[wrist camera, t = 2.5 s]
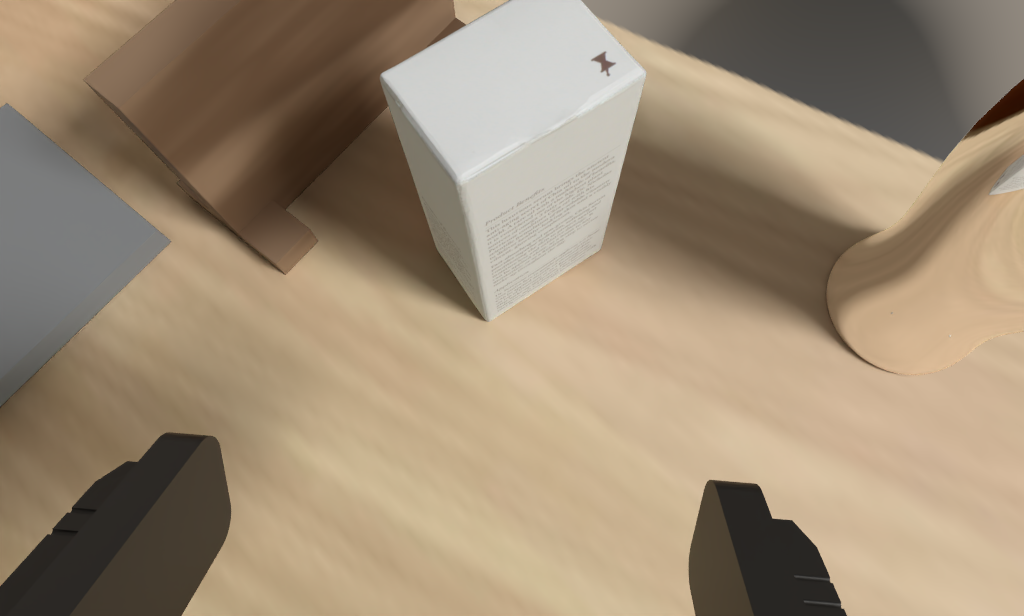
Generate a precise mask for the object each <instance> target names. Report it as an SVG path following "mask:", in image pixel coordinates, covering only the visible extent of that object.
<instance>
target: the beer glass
mask: <svg viewBox="0 0 1024 616" xmlns="http://www.w3.org/2000/svg"><path fill="white" fill-rule="evenodd" d="M826 296H827V306H828V310H829V314H830V317H831V320H832V322H833V324H834V326H835V328H836V330H837V332H838V333H839V335H840V336H841V338H842V339H843V340H844V342H845V343H846V344H847V345H848V346H849V347H850V348H851V349H852V350H853V351H854V352H855V353H856V354H857V355H859V356H860V357H861V358H863V359H864V360H866V361H867V362H869V363H871V364H872V365H874V366H876V367H879V368H881V369H883V370H886V371H889V372H893V373H897V374H903V375H923V374H930V373H934V372H938V371H941V370H943V369H946V368H948V367H950V366H952V365H954V364H955V363H957V362H958V361H960V360H961V359H963V358H964V357H965V356H967V355H968V354H969V353H970V352H972V351H973V350H974V349H976V348H977V347H978V346H979V345H981V344H982V343H984V342H986V341H988V340H990V339H992V338H995V337H999V336H1002V335H1007V334H1013V333H1019V332H1024V79H1023V80H1021V81H1020V82H1019V83H1018V84H1017V85H1015V86H1014V87H1013V88H1012V89H1011V90H1010V91H1009V92H1008V93H1006V94H1005V95H1004V97H1002V98H1001V99H1000V100H999V101H998V102H997V103H996V104H995V105H994V106H993V107H992V108H991V109H990V110H989V111H988V112H987V113H986V114H985V115H983V116H982V117H981V118H980V119H979V120H978V121H977V123H976V124H975V125H974V126H973V127H972V128H971V129H970V131H969V132H968V133H967V134H966V135H965V136H964V138H963V139H962V140H961V141H960V142H959V143H958V145H957V146H956V147H955V148H954V149H953V151H952V152H951V153H950V154H949V155H948V157H947V158H946V159H945V161H944V162H943V163H942V165H941V166H940V167H939V169H938V170H937V171H936V173H935V174H934V176H933V177H932V178H931V180H930V181H929V182H928V184H927V185H926V187H925V188H924V189H923V191H922V192H921V194H920V195H919V196H918V198H917V199H916V201H915V202H914V203H913V205H912V206H911V207H910V208H909V210H908V211H907V212H906V213H905V215H904V216H903V217H902V218H901V219H900V220H899V221H898V222H897V223H895V224H894V225H892V226H891V227H889V228H887V229H885V230H883V231H881V232H878V233H876V234H874V235H871V236H869V237H867V238H865V239H863V240H861V241H859V242H857V243H856V244H854V245H853V246H851V247H850V248H849V249H847V250H846V251H845V252H844V253H843V254H842V255H841V256H840V257H839V259H838V260H837V262H836V263H835V265H834V267H833V269H832V271H831V273H830V276H829V279H828V283H827V292H826Z"/></svg>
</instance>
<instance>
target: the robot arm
mask: <svg viewBox="0 0 1024 616" xmlns="http://www.w3.org/2000/svg"><path fill="white" fill-rule="evenodd" d="M230 520H231V504H230V498H229V493H228V487H227V482H226V476H225V471H224V465H223V460H222V455H221V449H220V445H219V442H218V440H217V439H216V438H215V437H213V436H205V435H193V434H181V433H165V434H163V435H162V436H160V437H159V438H158V439H157V441H156V442H155V443H154V444H153V445H152V446H151V448H150V449H149V450H148V451H147V452H146V453H145V454H144V456H143V457H142V458H141V459H140V460H139V461H138V462H131V461H127V462H125V463H124V464H122V465H121V466H119V467H118V468H116V469H115V470H113V471H111V472H110V473H108V474H107V475H105V476H104V477H102V478H101V479H99V480H97V481H96V482H95V483H94V484H93V485H92V486H91V487H90V488H89V489H88V490H87V491H86V493H85V494H84V495H83V496H82V497H81V498H80V499H79V500H78V501H77V502H76V504H75V505H74V506H73V507H72V511H71V513H66V515H65V516H64V517H63V518H62V519H61V520H60V521H59V522H58V523H57V525H56V526H55V527H54V528H53V532H52V534H51V535H50V534H47V536H46V537H45V538H44V539H43V540H42V541H41V542H40V543H39V544H38V545H37V547H36V548H35V549H34V550H33V551H32V552H31V553H30V554H29V555H28V556H27V558H26V559H25V560H24V561H23V562H22V563H21V564H20V565H19V566H18V567H17V569H16V570H15V571H14V572H13V573H12V574H11V575H10V576H9V577H8V578H7V580H6V581H5V582H4V583H3V584H2V585H1V586H0V616H181V615H182V614H183V612H184V610H185V609H186V607H187V605H188V603H189V602H190V600H191V598H192V597H193V595H194V593H195V592H196V590H197V588H198V586H199V585H200V583H201V581H202V580H203V578H204V576H205V575H206V573H207V571H208V569H209V568H210V566H211V564H212V563H213V561H214V559H215V558H216V556H217V554H218V552H219V551H220V549H221V547H222V545H223V544H224V541H225V539H226V536H227V533H228V530H229V525H230ZM689 583H690V590H691V595H692V600H693V605H694V610H695V615H696V616H847V615H846V613H845V610H844V609H841V601H840V599H839V597H838V594H837V592H836V590H835V588H834V585H833V583H830V576H829V574H828V572H827V569H826V567H825V565H824V563H823V560H822V558H821V556H820V553H819V551H818V549H817V547H816V546H815V545H814V544H813V543H812V542H811V540H810V539H809V538H808V537H807V536H806V535H805V534H804V533H803V532H802V531H801V530H800V529H799V527H798V526H797V525H796V524H795V523H794V522H793V521H792V520H781V519H772V516H771V514H770V511H769V508H768V506H767V503H766V501H765V498H764V495H763V493H762V490H761V488H760V487H759V486H758V485H757V484H752V483H740V482H729V481H717V480H709V481H708V482H707V484H706V486H705V489H704V493H703V497H702V501H701V505H700V510H699V514H698V518H697V522H696V526H695V531H694V535H693V539H692V543H691V548H690V554H689Z"/></svg>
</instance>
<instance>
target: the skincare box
mask: <svg viewBox="0 0 1024 616" xmlns="http://www.w3.org/2000/svg"><path fill="white" fill-rule="evenodd" d="M645 78H646V71H645V69H644V68H643V67H642V66H641V65H640V64H639V63H638V62H637V61H636V60H635V59H634V58H633V57H632V56H631V55H630V54H629V53H628V52H627V51H626V49H625V48H624V47H623V46H622V45H621V44H620V43H619V42H618V41H617V40H616V39H615V38H614V37H613V35H612V34H611V33H610V32H609V31H608V30H607V29H606V28H605V27H604V26H603V24H602V23H601V22H600V21H599V20H598V19H597V18H596V16H595V15H594V14H593V13H592V12H591V11H590V10H589V9H588V8H587V6H585V4H584V3H583V2H582V1H581V0H509V1H507V2H505V3H504V4H502V5H500V6H499V7H497V8H495V9H493V10H492V11H490V12H488V13H486V14H485V15H483V16H481V17H479V18H478V19H476V20H474V21H472V22H471V23H469V24H467V25H466V26H464V27H462V28H460V29H459V30H457V31H455V32H454V33H452V34H450V35H448V36H447V37H445V38H443V39H441V40H440V41H438V42H436V43H434V44H433V45H431V46H429V47H427V48H426V49H424V50H422V51H420V52H419V53H417V54H415V55H413V56H412V57H410V58H408V59H407V60H405V61H403V62H401V63H399V64H397V65H396V66H394V67H392V68H390V69H388V70H386V71H384V72H383V73H382V74H380V82H381V85H382V88H383V91H384V94H385V97H386V100H387V103H388V106H389V109H390V112H391V115H392V118H393V120H394V123H395V126H396V129H397V132H398V136H399V139H400V142H401V144H402V147H403V150H404V153H405V156H406V159H407V162H408V165H409V168H410V171H411V174H412V177H413V180H414V183H415V186H416V189H417V192H418V195H419V198H420V201H421V204H422V207H423V210H424V213H425V216H426V219H427V222H428V225H429V228H430V231H431V234H432V237H433V240H434V243H435V246H436V249H437V250H438V252H439V253H440V255H441V256H442V258H443V259H444V260H445V262H446V263H447V265H448V266H449V268H450V269H451V271H452V272H453V274H454V275H455V277H456V278H457V280H458V281H459V283H460V284H461V286H462V287H463V289H464V290H465V292H466V293H467V295H468V296H469V298H470V299H471V300H472V302H473V303H474V305H475V306H476V308H477V309H478V311H479V312H480V314H481V315H482V316H483V318H484V319H485V320H486V321H487V322H490V321H492V320H493V319H495V318H496V317H497V316H499V315H500V314H502V313H504V312H505V311H507V310H508V309H510V308H511V307H513V306H515V305H516V304H518V303H519V302H521V301H522V300H524V299H525V298H527V297H528V296H530V295H532V294H533V293H535V292H536V291H538V290H539V289H541V288H542V287H544V286H545V285H547V284H548V283H550V282H551V281H553V280H554V279H556V278H558V277H559V276H561V275H562V274H564V273H565V272H567V271H568V270H570V269H571V268H573V267H574V266H576V265H577V264H579V263H581V262H582V261H584V260H585V259H587V258H588V257H590V256H591V255H593V254H595V253H596V252H598V251H599V250H600V249H601V247H602V242H603V239H604V236H605V231H606V228H607V224H608V220H609V216H610V212H611V208H612V204H613V200H614V196H615V193H616V189H617V185H618V181H619V178H620V173H621V169H622V166H623V162H624V158H625V154H626V151H627V146H628V142H629V139H630V135H631V131H632V128H633V124H634V120H635V116H636V113H637V109H638V104H639V101H640V97H641V94H642V90H643V86H644V81H645Z"/></svg>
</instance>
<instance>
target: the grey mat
mask: <svg viewBox="0 0 1024 616" xmlns="http://www.w3.org/2000/svg"><path fill="white" fill-rule="evenodd" d="M170 242H171V241H170V240H169V239H168V238H167V237H165V236H164V235H163V234H162V233H161V232H159V231H158V230H157V229H156V228H155V227H154V226H152V225H151V224H150V223H149V222H148V221H146V220H145V219H144V218H143V217H142V216H141V215H139V214H138V213H137V212H136V211H135V210H133V209H132V208H131V207H130V206H129V205H128V204H126V203H125V202H124V201H123V200H122V199H120V198H119V197H118V196H117V195H116V194H114V193H113V192H112V191H111V190H110V189H109V188H107V187H106V186H105V185H104V184H103V183H101V182H100V181H99V180H98V179H97V178H96V177H94V176H93V175H92V174H91V173H90V172H88V171H87V170H86V169H85V168H84V167H82V166H81V165H80V164H79V163H78V162H77V161H75V160H74V159H73V158H72V157H71V156H69V155H68V154H67V153H66V152H65V151H64V150H62V149H61V148H60V147H59V146H58V145H56V144H55V143H54V142H53V141H52V140H51V139H49V138H48V137H47V136H46V135H45V134H43V133H42V132H41V131H40V130H39V129H37V128H36V127H35V126H34V125H33V124H32V123H30V122H29V121H28V120H27V119H26V118H24V117H23V116H22V115H21V114H20V113H18V112H17V111H16V110H15V109H14V108H12V107H11V106H10V105H9V104H8V103H6V104H5V105H4V106H3V107H1V108H0V407H1V406H2V405H3V404H4V403H5V402H6V401H7V400H8V399H9V398H10V397H11V396H12V395H13V394H14V393H15V392H16V391H17V390H18V389H19V388H20V387H21V386H22V385H23V384H24V383H25V382H26V381H27V380H28V379H30V378H31V377H32V376H33V375H34V374H35V373H36V372H37V371H38V370H39V369H40V368H41V367H42V366H43V365H44V364H45V363H46V362H47V361H48V360H49V359H50V358H51V357H52V356H53V355H54V354H55V353H56V352H57V351H58V350H60V349H61V348H62V347H63V346H64V345H65V344H66V343H67V342H68V341H69V340H70V339H71V338H72V337H73V336H74V335H75V334H76V333H77V332H78V331H79V330H80V329H81V328H82V327H83V326H84V325H85V324H86V323H87V322H88V321H90V320H91V319H92V318H93V317H94V316H95V315H96V314H97V313H98V312H99V311H100V310H101V309H102V308H103V307H104V306H105V305H106V304H107V303H108V302H109V301H110V300H111V299H112V298H113V297H114V296H115V295H116V294H117V293H118V292H120V291H121V290H122V289H123V288H124V287H125V286H126V285H127V284H128V283H129V282H130V281H131V280H132V279H133V278H134V277H135V276H136V275H137V274H138V273H139V272H140V271H141V270H142V269H143V268H144V267H145V266H146V265H147V264H148V263H150V262H151V261H152V260H153V259H154V258H155V257H156V256H157V255H158V254H159V253H160V252H161V251H162V250H163V249H164V248H165V247H166V246H167V245H168V244H169V243H170Z"/></svg>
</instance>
